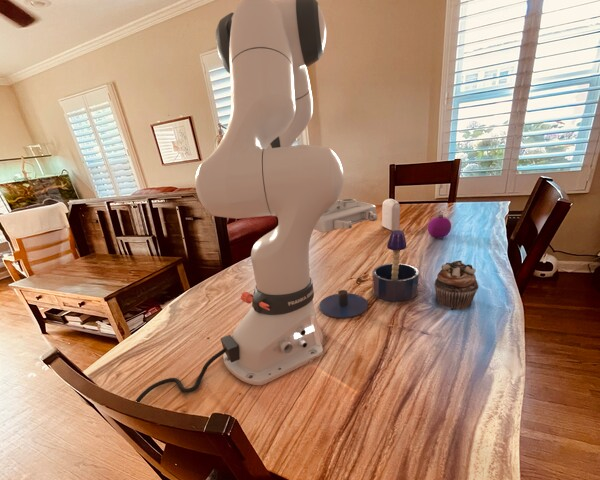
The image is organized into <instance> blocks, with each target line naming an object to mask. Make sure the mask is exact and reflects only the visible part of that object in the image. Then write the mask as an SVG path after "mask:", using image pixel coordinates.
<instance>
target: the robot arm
mask: <svg viewBox="0 0 600 480" xmlns="http://www.w3.org/2000/svg"><path fill="white" fill-rule="evenodd" d="M326 24H327V23H326V20H325V17H324V13H323V11H322V9H321V8H320V4H319V2H318V0H273V1H272V0H242V1H241V2H239V4H238V5H236V8H235V9H234V12H230V13H228V14H227V15H225V16H223V17H222V18H221V19H219V21H218V24H217V26H216V29H215V41H216V49H217V53H218V56H219V58H220V61H221V64H222V65H223V67H224V69H225V71H226V72H227V73H228V74H229V80H230V81H229V82H230V113H229V114H230V115H229V118H228V123H227V126H226V129H225V131H224V134H223V136H222V137H221V140H220V141H219V142H218V145H217V146H216V147H215V148H214V150H213V151H212V152H211V154H210V155H208V157H207V158H205V159H204V160H202V161H201V163H200V164H199V166H198V168H197V170H196V174H195V179H194V185H195V186H194V187H195V192H196V195H197V198H198V201H199V202H200V204H201V206H202V207H203V208H204V210H205V211H206V212H207V213H208V214H209V215H211V216H213V217H219V218H224V219H225V218H227V219H237V220H238V219H251V218H259V217H270V216H272V217H275V218H277V226H276V227H275V228H274V229H272V230H271V231H269V232H267V233H266V234H264V235H263V236H262V237H260V238H259V239H257V241H255V242H254V244H253V246H252V248H251V252H250V260H251V265H252V271H253V275H254V280H255V285H254V290H253V291H254V292H253V294H252V293H249V292H248V291H243V292H241V295H240V299H241V301H242V302H244V303H246V304H251V307H250V308H249V310H248V311H247V312H246V313H245V315H244V316H243V318H242V319H241V320H240V322H239V323H238V324H237V325H236V326H235V328H234V330H233V331H232V333H231V334H228V335H226V336H222V337H220V341H221V345H222V346H221V347H222V349H221V350H219V351H218V352H217V353H216V354H214V355H213V356H211V357H210V358H209V359H208V360H207V361H206V362H205V363H204V365H203V367H202V369H201V371H200V373H199V374H198V376H197V378H196V380H195V382H194V384H193V386H191V387H187V388H186V387H185V386H184V385H183V383H182V381H181V380H180V379H179V378H177V377H169V378H164V379H161V380H160V381H157V382H155V383H153V384H151V385H150V386H148V387H147V388H146V389H144V390H143V391H142V392H141V393H140V394H139V396H138V397H137V398H136V399H135V401H137V402H139V403H141V401H143V399H144V398H145V397H146V396H147V395H148V394H149V393H151V391H153V390H154V389H157V388H158V387H160V386H162V385H165V384H168V383H175V384H176V385H177V388H178V389H179V391H181V392H182V393H184V394H189V393H192V392H194V391H196V390H197V389H198V387H199V385H200V384H201V381H202V379H203V378H204V376H205V374H206V372H207V369H208V368H209V367H210V366H211V364H212V363H214V362H215V361H216V360H218V359H219V358H220V357H221V356H222V355H223V357H222V358H223V363H224V366H225V368H226V369H227V370H228V371H229V372H230V374H232V375H233V376H234V377H235V378H237V379H238V380H240V381H242V382H244V383H246V384H248V385H253V386H264V385H266V384H268V383H270V382H272V381H274V380H276V379H278V378H281V377H282V376H285V375H286V374H289V373H291V372H293V371H294V370H297V369H298V368H301V367H303V366H305V365H307V364H309V363H310V361H312V360H314V359H316V358H318V357H320V356H322V355H323V354H324V348H323V345H322V343H323V339H324V335H323V331H322V329H321V327H320V325H319V321H318V318H317V314H316V311H315V305H314V298H315V292H314V291H315V290H314V285H313V279H312V278H311V276H310V275H311V274H310V242H311V237H312V234H313V231H314V230H315V231H317V232H319V233H329V232H333V231H336V230H339V229H342V230H343V229H344V230H349V229H352V227H353V226H352V225H356V224H360V223H362V222H367V221H369V222H376V221H378V214H377V207H376V205H374V204H372V203H368V202H364V201H357V199H355V198H348V199H339V197H340V195H341V193H342V190H343V187H344V180H345V178H344V177H345V176H344V169H343V165H342V162H341V160H340V158H339V157H338V155H337V154H336V152H335V151H333V149H332V148H330V147H328V146H321V145H313V144H296V145H293V144H294V143H295V141H296V140H297V139H298V137H299V136H301V134H302V133H303V132H304V131H305V130H306V128H308V125H309V123H310V122H311V120H312V117H313V114H314V113H313V111H314V100H313V93H312V87H311V81H310V76H309V71H308V68H309V67H311V66H312V65H314V64H315V63H317V62H318V61H319V60H320V59H321V57H322V56H323V54H324V51H325V46H326V41H327V26H326Z"/></svg>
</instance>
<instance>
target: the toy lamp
mask: <svg viewBox="0 0 600 480" xmlns="http://www.w3.org/2000/svg"><path fill="white" fill-rule="evenodd" d="M386 248H387V249H388V250H391V251H392V253H393V254H392V260H391V261H392V263H391V264H393V265H392V276H391V280H398V273H399V272H398V269H399V265H398V264H400V257H401V255H400V253H401V251H404V250H406V249H407V241H406V235H405V232H404V231H403V230H401V229H398V230H395V231H392V230H391V232H390V235H389V238H388V241H387V244H386Z"/></svg>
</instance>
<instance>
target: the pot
mask: <svg viewBox="0 0 600 480" xmlns="http://www.w3.org/2000/svg"><path fill="white" fill-rule="evenodd" d="M392 265H393V263H385V264H381V265H378V266H376V267H375V268H373V270H372V274H371V275H372V276H371V277H372V278H371V279H372V280H371V281H372V282H371V283H372V285H371V286H372V287H371V288H372V290H371V292H372V295H373V296H374V297H375V298H376V299H378V300H381V301H383V302H387V303H405V302H409V301H412V300H413V299H415V298H416V297H417V295H418V290H419V289H418V288H419V278H420V271H419V270H418V268H416V267H415V266H412V265H410V264H406V263H399V264H398V265H399V269H398V272H399V273H398V280H391V276H392Z"/></svg>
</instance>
